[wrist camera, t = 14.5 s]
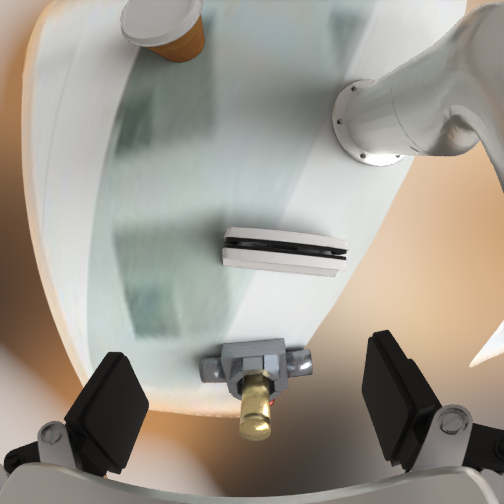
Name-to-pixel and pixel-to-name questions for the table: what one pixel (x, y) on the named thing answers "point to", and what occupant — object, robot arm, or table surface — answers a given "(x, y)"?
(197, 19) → the disposable coffee cup
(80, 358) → the table surface
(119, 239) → the table surface
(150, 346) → the table surface
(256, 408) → the brass cylinder
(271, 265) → the white slotted block
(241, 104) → the table surface
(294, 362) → the valve body
